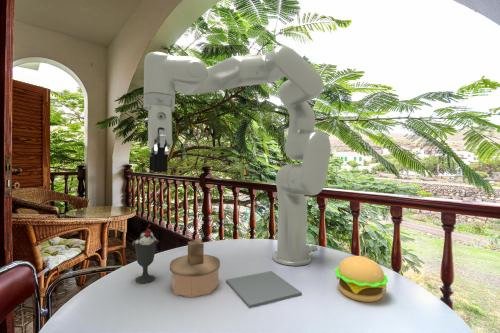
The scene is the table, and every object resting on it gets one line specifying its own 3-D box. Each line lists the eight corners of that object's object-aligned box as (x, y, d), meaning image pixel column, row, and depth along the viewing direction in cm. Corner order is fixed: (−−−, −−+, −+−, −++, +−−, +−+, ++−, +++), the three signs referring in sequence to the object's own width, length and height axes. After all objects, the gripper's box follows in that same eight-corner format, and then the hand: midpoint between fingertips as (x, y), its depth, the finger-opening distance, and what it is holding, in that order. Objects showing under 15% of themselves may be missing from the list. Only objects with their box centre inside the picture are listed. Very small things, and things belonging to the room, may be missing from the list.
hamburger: (352, 308, 57) (352, 268, 57) (325, 283, 69) (326, 251, 69) (399, 303, 59) (400, 265, 59) (366, 280, 71) (367, 249, 71)
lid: (211, 255, 74) (211, 234, 74) (227, 271, 63) (227, 246, 63) (166, 261, 69) (166, 238, 69) (174, 280, 58) (175, 253, 58)
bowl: (209, 274, 73) (209, 256, 73) (222, 291, 64) (223, 270, 64) (168, 281, 69) (169, 262, 69) (176, 300, 59) (177, 278, 59)
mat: (271, 273, 75) (271, 271, 75) (301, 295, 62) (301, 292, 62) (225, 281, 69) (225, 279, 69) (249, 308, 56) (249, 305, 56)
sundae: (149, 286, 65) (150, 226, 65) (125, 283, 67) (126, 225, 67) (163, 275, 72) (164, 221, 72) (141, 273, 73) (142, 219, 73)
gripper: (180, 98, 60) (179, 172, 60) (169, 112, 76) (167, 170, 76) (146, 93, 57) (144, 172, 57) (141, 108, 72) (139, 170, 72)
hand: (157, 171), depth 66 cm, fingers open, 9 cm apart
